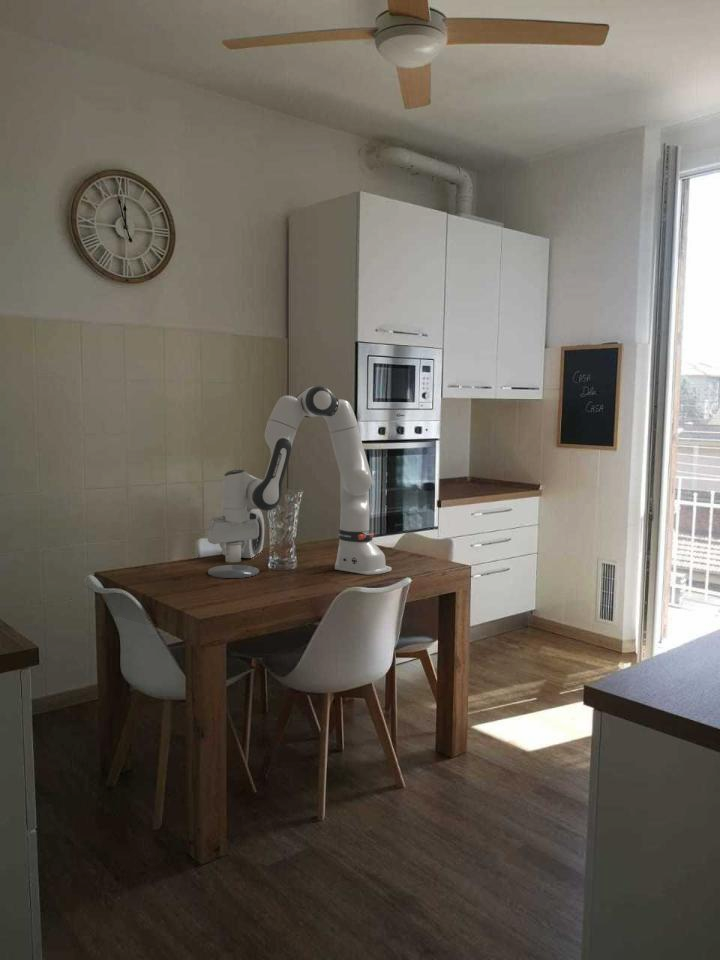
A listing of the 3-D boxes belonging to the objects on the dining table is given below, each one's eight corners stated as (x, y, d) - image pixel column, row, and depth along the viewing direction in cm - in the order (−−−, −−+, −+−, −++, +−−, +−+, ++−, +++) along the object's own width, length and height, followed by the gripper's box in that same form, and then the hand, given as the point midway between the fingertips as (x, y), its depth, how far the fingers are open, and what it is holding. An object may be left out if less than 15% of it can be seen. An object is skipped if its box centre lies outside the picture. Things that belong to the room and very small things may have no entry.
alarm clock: (248, 561, 296) (249, 510, 294) (230, 560, 297) (230, 509, 295) (264, 551, 317) (264, 503, 315) (246, 550, 318) (247, 502, 316)
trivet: (269, 573, 275) (269, 571, 275) (227, 581, 263) (227, 578, 263) (238, 565, 288) (238, 562, 288) (198, 572, 275) (198, 569, 275)
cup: (244, 561, 275) (244, 541, 274) (231, 563, 271) (231, 543, 270) (234, 558, 279) (235, 539, 278) (221, 560, 275) (222, 541, 274)
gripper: (214, 519, 264) (214, 558, 265) (261, 514, 278) (261, 551, 280) (204, 516, 268) (203, 555, 269) (251, 512, 283) (250, 549, 284)
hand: (233, 553), depth 275 cm, fingers closed on cup, 5 cm apart
